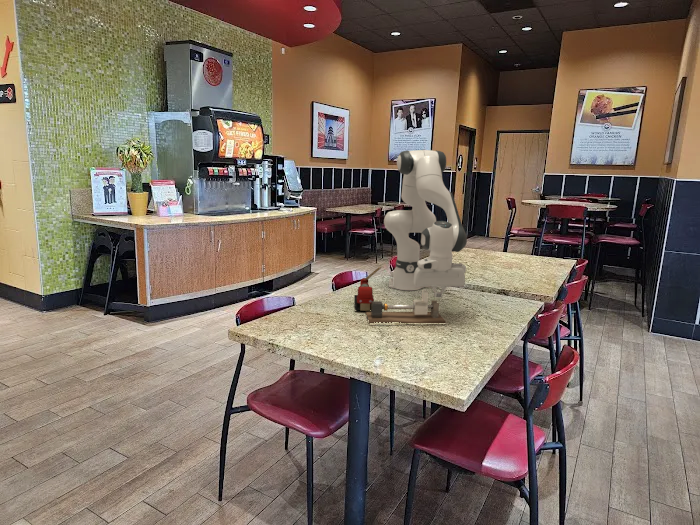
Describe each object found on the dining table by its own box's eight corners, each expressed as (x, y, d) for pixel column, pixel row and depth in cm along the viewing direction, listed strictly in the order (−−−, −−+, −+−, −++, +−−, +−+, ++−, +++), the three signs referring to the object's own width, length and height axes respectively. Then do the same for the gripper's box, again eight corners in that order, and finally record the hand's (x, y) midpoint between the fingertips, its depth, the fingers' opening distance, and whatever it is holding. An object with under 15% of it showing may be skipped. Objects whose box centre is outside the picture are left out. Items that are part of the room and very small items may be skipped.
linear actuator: (365, 315, 189) (366, 297, 187) (437, 315, 192) (438, 297, 190) (369, 325, 177) (370, 306, 176) (445, 325, 180) (446, 306, 178)
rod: (370, 315, 185) (371, 301, 184) (435, 314, 187) (436, 301, 186) (372, 318, 181) (372, 304, 180) (437, 317, 183) (438, 303, 182)
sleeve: (412, 311, 186) (413, 289, 184) (424, 311, 187) (426, 289, 185) (414, 314, 182) (416, 292, 180) (427, 314, 182) (428, 292, 181)
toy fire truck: (354, 312, 192) (355, 271, 189) (354, 302, 208) (355, 263, 204) (381, 313, 192) (383, 272, 189) (379, 302, 208) (380, 264, 204)
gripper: (463, 261, 185) (461, 294, 188) (413, 261, 183) (411, 294, 186) (468, 265, 178) (466, 299, 181) (417, 264, 177) (415, 299, 180)
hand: (438, 297), depth 184 cm, fingers closed
